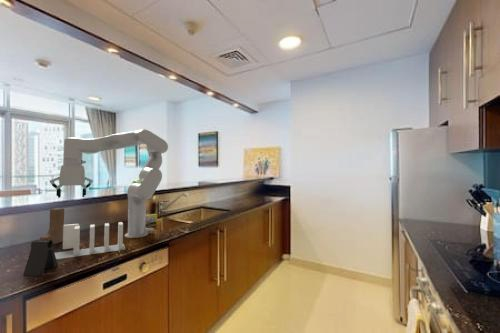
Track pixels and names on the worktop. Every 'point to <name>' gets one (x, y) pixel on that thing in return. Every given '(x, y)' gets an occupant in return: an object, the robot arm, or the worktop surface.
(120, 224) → the domino
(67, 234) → the domino
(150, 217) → the candy box
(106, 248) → the domino
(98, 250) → the mat
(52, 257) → the phone stand
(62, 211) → the wooden block
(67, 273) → the worktop surface
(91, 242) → the domino
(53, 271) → the worktop surface
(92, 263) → the worktop surface
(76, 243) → the domino
